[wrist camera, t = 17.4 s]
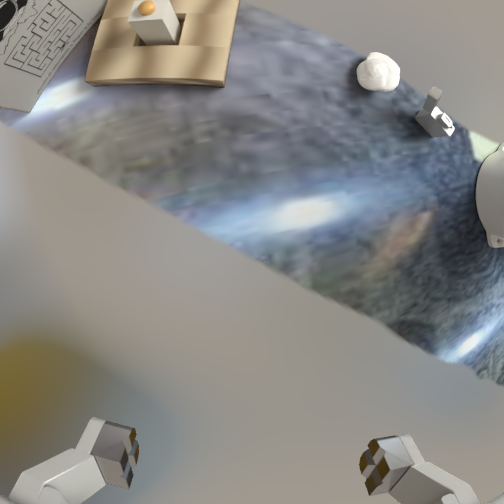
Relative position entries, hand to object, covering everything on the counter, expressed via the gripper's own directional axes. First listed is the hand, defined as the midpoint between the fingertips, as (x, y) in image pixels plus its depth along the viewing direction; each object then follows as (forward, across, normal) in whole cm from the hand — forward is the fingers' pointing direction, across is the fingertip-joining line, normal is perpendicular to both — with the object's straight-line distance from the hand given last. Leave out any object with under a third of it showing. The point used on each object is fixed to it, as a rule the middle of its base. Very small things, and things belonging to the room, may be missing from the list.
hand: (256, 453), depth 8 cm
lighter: (+31, -22, -21) cm, 44 cm away
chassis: (+31, +14, -26) cm, 43 cm away
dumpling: (+31, -14, -25) cm, 42 cm away
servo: (+30, +14, -26) cm, 42 cm away
